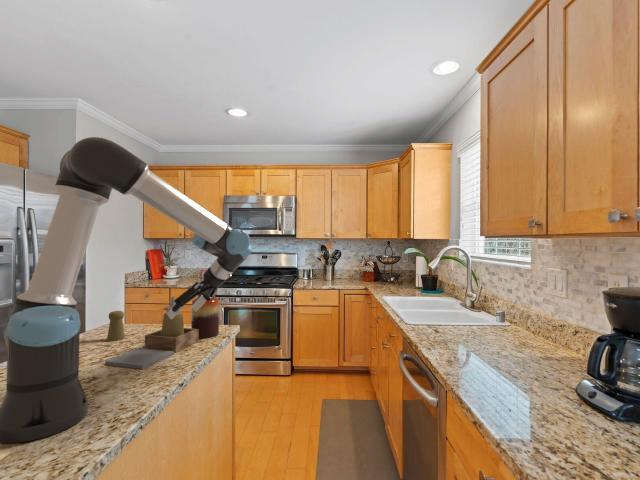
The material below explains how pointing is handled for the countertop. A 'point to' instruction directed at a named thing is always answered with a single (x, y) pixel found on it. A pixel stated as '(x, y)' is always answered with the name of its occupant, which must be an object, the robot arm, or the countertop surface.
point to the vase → (206, 318)
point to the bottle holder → (172, 340)
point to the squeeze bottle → (172, 323)
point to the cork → (116, 326)
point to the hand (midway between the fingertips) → (182, 312)
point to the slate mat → (139, 358)
